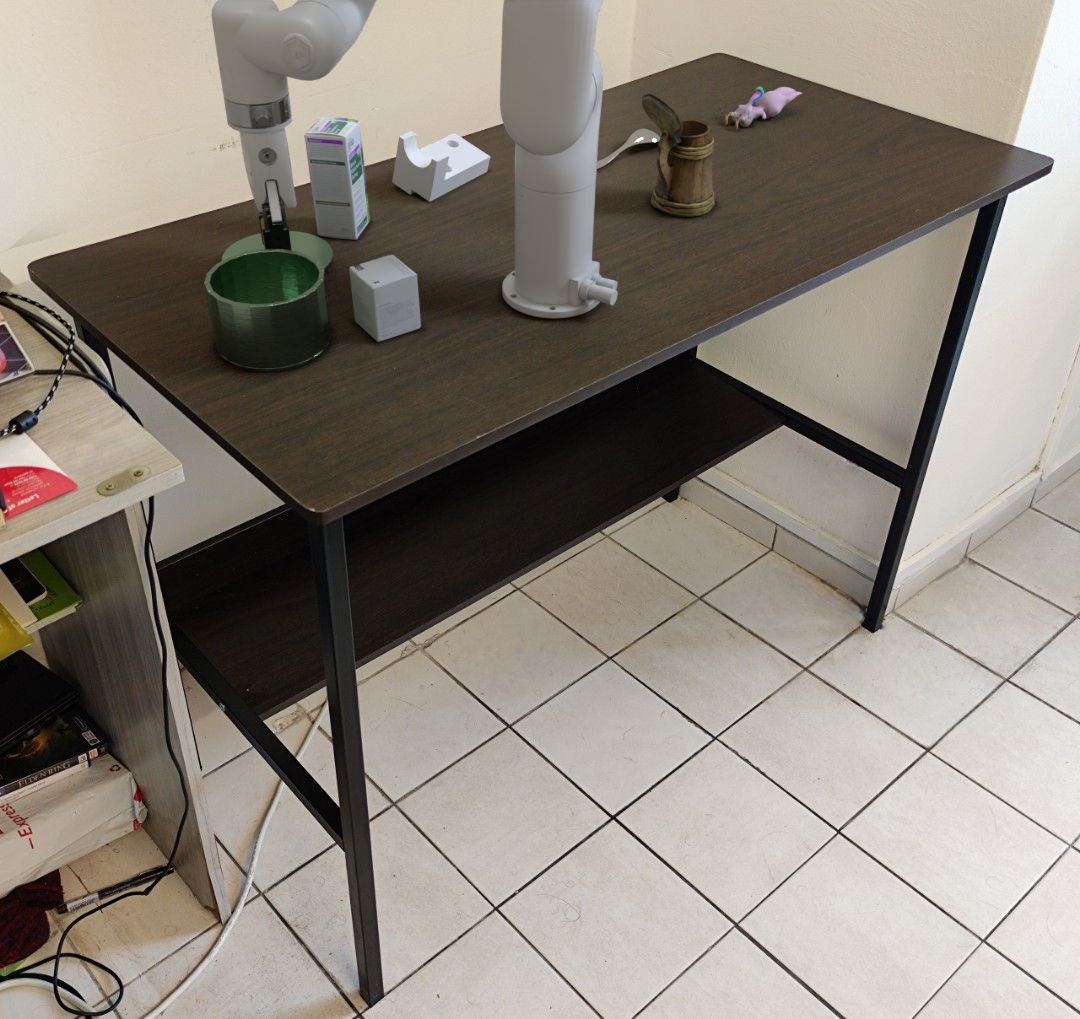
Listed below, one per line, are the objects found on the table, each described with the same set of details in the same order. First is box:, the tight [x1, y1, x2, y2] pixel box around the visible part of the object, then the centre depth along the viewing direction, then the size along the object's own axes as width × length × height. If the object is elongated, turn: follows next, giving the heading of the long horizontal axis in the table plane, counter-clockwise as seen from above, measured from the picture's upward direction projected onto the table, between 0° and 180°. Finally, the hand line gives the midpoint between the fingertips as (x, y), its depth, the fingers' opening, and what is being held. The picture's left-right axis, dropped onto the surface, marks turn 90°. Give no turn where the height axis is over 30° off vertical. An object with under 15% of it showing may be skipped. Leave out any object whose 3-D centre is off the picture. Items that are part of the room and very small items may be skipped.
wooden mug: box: [641, 93, 716, 218], centre depth 162 cm, size 9×14×18 cm, turn 134°
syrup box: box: [303, 116, 371, 241], centre depth 157 cm, size 6×6×14 cm
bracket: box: [391, 130, 491, 203], centre depth 171 cm, size 13×7×8 cm, turn 143°
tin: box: [203, 249, 332, 373], centre depth 137 cm, size 13×13×8 cm
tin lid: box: [221, 215, 334, 273], centre depth 150 cm, size 14×14×6 cm
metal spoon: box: [597, 128, 661, 170], centre depth 179 cm, size 20×4×5 cm
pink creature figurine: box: [723, 86, 803, 131], centre depth 192 cm, size 6×6×15 cm
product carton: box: [348, 254, 422, 343], centre depth 140 cm, size 6×6×7 cm
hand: (277, 249), depth 151 cm, fingers closed on tin lid, 3 cm apart
